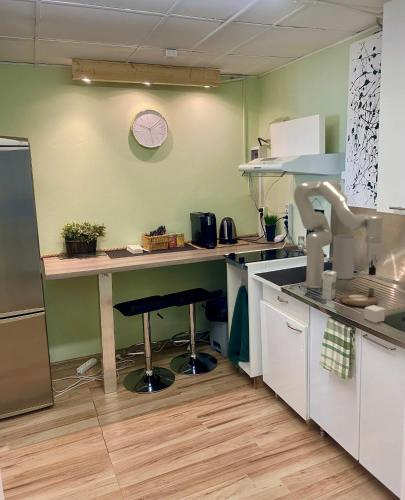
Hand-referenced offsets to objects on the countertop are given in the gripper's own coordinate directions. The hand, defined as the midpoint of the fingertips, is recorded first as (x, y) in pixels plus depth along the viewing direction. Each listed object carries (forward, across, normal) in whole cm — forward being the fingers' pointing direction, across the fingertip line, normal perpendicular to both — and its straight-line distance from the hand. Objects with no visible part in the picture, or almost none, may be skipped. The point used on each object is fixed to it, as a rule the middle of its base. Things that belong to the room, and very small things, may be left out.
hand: (372, 274), depth 215 cm
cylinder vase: (+12, -39, -12) cm, 42 cm away
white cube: (+13, +32, -2) cm, 35 cm away
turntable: (+13, +8, -7) cm, 16 cm away
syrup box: (+13, +4, -22) cm, 25 cm away
